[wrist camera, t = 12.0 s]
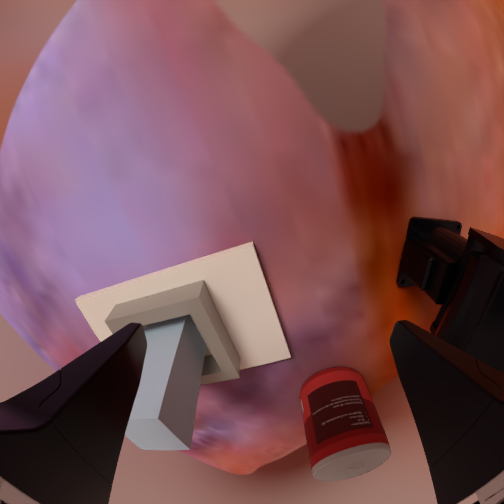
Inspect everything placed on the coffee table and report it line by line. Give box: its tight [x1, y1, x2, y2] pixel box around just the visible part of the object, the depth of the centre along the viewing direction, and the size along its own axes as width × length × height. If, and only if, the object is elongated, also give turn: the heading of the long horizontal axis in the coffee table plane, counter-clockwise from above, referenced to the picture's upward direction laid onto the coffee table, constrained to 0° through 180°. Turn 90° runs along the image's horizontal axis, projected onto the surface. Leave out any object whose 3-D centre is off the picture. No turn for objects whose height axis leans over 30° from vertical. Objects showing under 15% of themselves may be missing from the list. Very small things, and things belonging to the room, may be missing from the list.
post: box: [125, 314, 206, 450], centre depth 19 cm, size 4×4×11 cm
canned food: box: [300, 367, 391, 481], centre depth 23 cm, size 8×8×11 cm
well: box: [75, 242, 291, 385], centre depth 23 cm, size 18×12×3 cm, turn 108°
